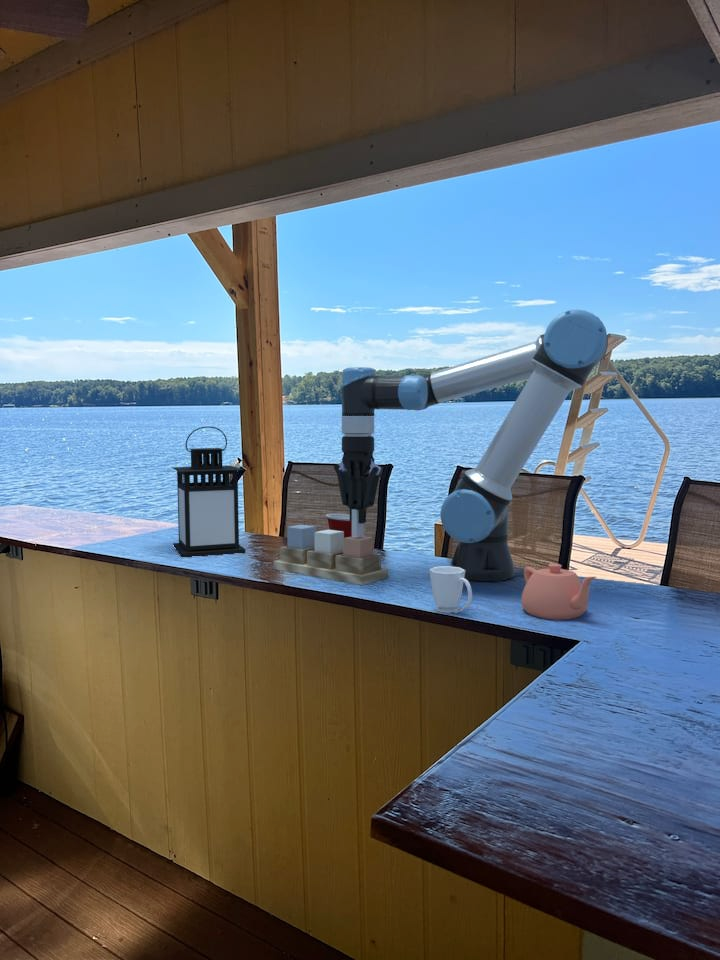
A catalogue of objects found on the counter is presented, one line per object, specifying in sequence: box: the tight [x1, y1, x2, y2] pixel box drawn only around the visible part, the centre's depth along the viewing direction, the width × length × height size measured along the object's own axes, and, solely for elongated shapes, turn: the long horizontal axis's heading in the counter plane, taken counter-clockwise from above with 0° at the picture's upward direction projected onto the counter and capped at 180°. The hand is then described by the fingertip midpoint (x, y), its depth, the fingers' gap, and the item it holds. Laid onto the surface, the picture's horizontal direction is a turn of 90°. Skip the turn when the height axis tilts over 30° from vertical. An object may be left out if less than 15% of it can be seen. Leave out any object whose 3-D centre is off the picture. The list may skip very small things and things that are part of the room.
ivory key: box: [314, 529, 344, 554], centre depth 177 cm, size 5×5×6 cm
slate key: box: [286, 524, 317, 550], centre depth 183 cm, size 5×5×6 cm
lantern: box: [170, 426, 246, 558], centre depth 207 cm, size 17×17×35 cm
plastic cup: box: [325, 513, 368, 538], centre depth 193 cm, size 11×11×12 cm
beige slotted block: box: [272, 545, 389, 586], centre depth 178 cm, size 28×10×6 cm, turn 52°
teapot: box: [520, 563, 597, 621], centre depth 141 cm, size 12×18×10 cm
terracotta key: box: [343, 535, 375, 559], centre depth 172 cm, size 5×5×6 cm
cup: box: [428, 565, 473, 614], centre depth 143 cm, size 7×10×8 cm
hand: (357, 536), depth 171 cm, fingers closed
